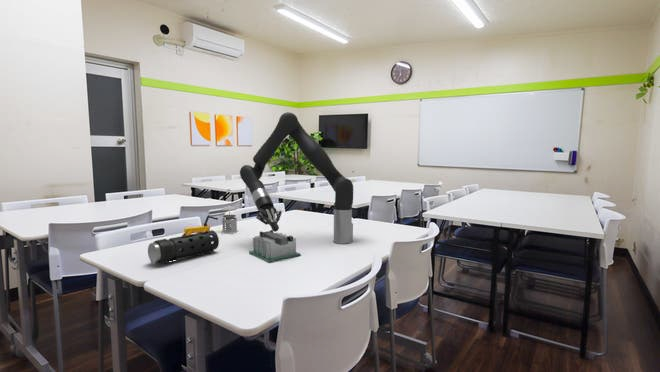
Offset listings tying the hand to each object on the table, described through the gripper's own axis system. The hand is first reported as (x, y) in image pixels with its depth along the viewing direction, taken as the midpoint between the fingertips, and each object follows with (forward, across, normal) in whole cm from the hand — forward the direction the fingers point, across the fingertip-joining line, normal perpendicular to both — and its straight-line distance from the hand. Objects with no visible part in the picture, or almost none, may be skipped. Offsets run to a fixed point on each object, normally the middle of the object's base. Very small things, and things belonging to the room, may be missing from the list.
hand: (276, 230), depth 157 cm
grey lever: (+3, 0, +5) cm, 5 cm away
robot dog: (-22, -18, +39) cm, 48 cm away
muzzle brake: (-7, -33, +24) cm, 41 cm away
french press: (-31, +2, +47) cm, 57 cm away
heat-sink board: (+7, 0, +10) cm, 12 cm away
